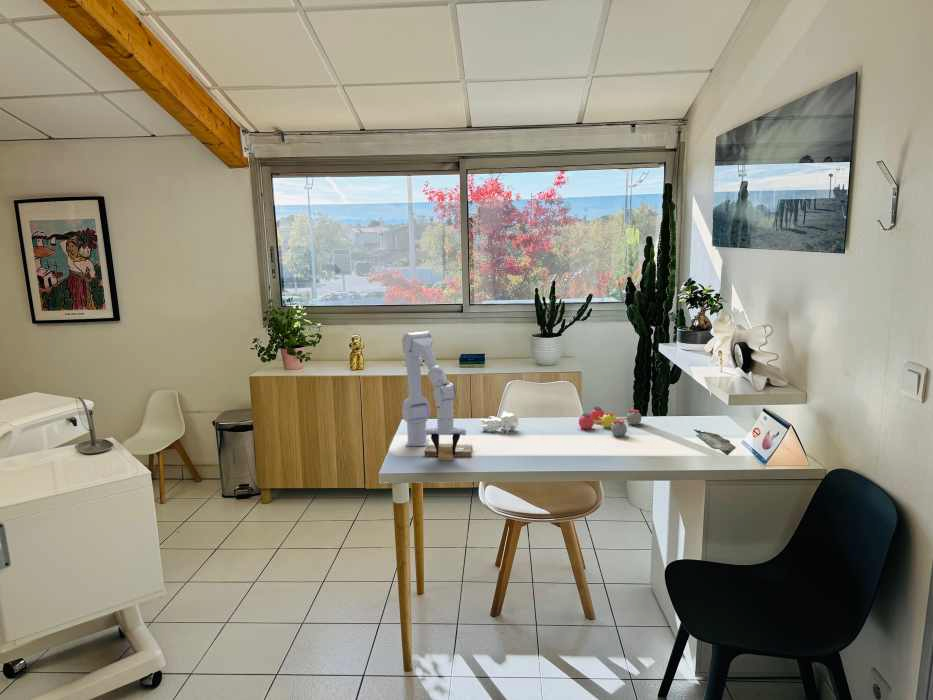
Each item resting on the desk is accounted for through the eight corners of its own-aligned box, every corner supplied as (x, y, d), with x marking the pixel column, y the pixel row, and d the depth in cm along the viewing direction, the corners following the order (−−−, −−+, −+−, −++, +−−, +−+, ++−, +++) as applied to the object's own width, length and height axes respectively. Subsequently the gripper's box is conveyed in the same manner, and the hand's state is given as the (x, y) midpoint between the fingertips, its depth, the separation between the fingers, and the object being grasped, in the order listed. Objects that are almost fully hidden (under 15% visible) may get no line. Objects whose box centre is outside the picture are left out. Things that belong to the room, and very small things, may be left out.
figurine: (479, 410, 268) (515, 404, 267) (483, 419, 274) (518, 413, 273) (482, 433, 262) (518, 426, 260) (485, 441, 268) (521, 435, 266)
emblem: (687, 430, 265) (687, 428, 265) (711, 429, 265) (711, 428, 265) (721, 456, 233) (721, 454, 233) (748, 455, 234) (748, 453, 233)
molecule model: (623, 439, 254) (624, 423, 253) (573, 432, 265) (573, 416, 264) (643, 424, 275) (643, 409, 274) (595, 417, 286) (595, 403, 285)
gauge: (440, 453, 240) (440, 440, 239) (454, 453, 239) (454, 440, 239) (438, 460, 233) (438, 446, 232) (452, 460, 232) (452, 446, 231)
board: (427, 449, 245) (427, 444, 245) (472, 449, 244) (472, 444, 244) (424, 456, 237) (424, 451, 237) (471, 456, 236) (471, 451, 236)
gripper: (423, 420, 229) (424, 457, 231) (464, 420, 228) (465, 457, 230) (426, 415, 236) (427, 451, 238) (466, 415, 234) (466, 451, 237)
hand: (446, 454), depth 234 cm, fingers closed on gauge, 5 cm apart
